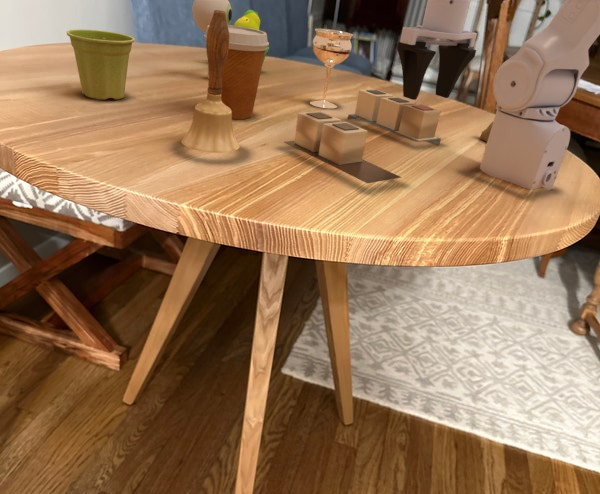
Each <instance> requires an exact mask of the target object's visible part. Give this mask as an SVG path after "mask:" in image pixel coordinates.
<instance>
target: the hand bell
mask: <svg viewBox="0 0 600 494" xmlns="http://www.w3.org/2000/svg"><path fill="white" fill-rule="evenodd" d="M205 44H206V45H205V47H206V57H207V63H208V62H209V79H208V81H207V82H208V83H207V86H208V87H207V93H206V99H205V100H204V101H201V102H199V103H197V104H195V106H194V112H193V116H192V120H191V124H190V128H189V130H188V131H187V133H186V134H185V136H184V137H183V138H182V139H181V144H182V145H183V146H185V147H187V148H188V149H191V150H194V151H198V152H203V153H212V154H213V153H214V154H225V153H232V152H235V151H238V150H239V149H240V148H241V145H240V143H239V142H238V140H237V138H236V135H235V132H234V126H233V119H232V111H231V109H230V108H229V107H227V106H226V105H225V104H223V103H222V101H221V93H222V89H221V88H222V73H223V68H224V64H225V62H226V59H227V55H228V50H229V29H228V25H227V20H226V13H225V11H220V10H214V13H213V17H212V20H211V23H210V25H209V28H208V32H207V41H206V42H205Z"/></svg>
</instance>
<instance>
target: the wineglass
mask: <svg viewBox="0 0 600 494" xmlns="http://www.w3.org/2000/svg"><path fill="white" fill-rule="evenodd" d="M314 32H315V36H314V38H313V40H312V50H313V53H314V55H315V57H316V58H317V59H318V60H319V61H320V62H321V63H323V64H324V67H325V68H326V69H325V78H324V88H323V96H322V97H323V98H322V99H319V100H312V101H310V102H309V105H311V106H314V107H317V108H321V109H337V108H338V106H337V104H334V103H332V102H331V101H328V100H327V99H326V98H327V92H328V88H329V82H330V76H331V71H332V69H333V68H334V67H335V66H336V65H338V64H339V65H340V64H341V63H343V62H344V61H345V60H346V59H348V58H349V56H350V54H351V52H352V48H353V45H352V40H351V39H352V38H353V36H354V34H352V33H350V32H346V31H342V30H336V29H329V28H314Z"/></svg>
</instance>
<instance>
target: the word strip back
mask: <svg viewBox="0 0 600 494" xmlns="http://www.w3.org/2000/svg"><path fill="white" fill-rule="evenodd" d="M404 105H417V102H414V101H411V100H409V99H405V98H402V97H399V96H394V95H393V94H391V93H387V92H385V91H381V90H379V89H375V88H374V89H359V90H358V94H357V100H356V106H355V111H354V113H350V114H348V115H347V120H348V121H349V120H350V121H351V120H359V121H363V122H366V123H368V124H371V125H373V126H376V127H378V128H381V129H383V130H386V131H388V132H390V133H393V134H395V135H398V136H400V137H403V138H406V139H408V140H411V141H413V142H415V143H419V142H427V143H429V144H432V145H434V146H439V145H440V144H441V141H442V138H441V137H438V136H436V135H435V136H434V137H431V138H422V139H416V138H414V137H411V136H409V135H406V134H404V133H401V132H399V127H400V123H401V118H402V113H403V109H404Z"/></svg>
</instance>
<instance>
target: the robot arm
mask: <svg viewBox="0 0 600 494" xmlns="http://www.w3.org/2000/svg"><path fill="white" fill-rule="evenodd" d="M470 4H471V0H427V1H426V7H425V11H424V15H423V20H422V25H421V24H420V25H419V24H418V25H416V26H403V27H402V30H401V35H400V41H397V46H396V50H397V54H398V56H399V60H400V64H401V66H400V67H401V73H402V97H403V98H407V99H408V100H413V101H416V100H417V99H418V97H419V95H420V92H421V89H422V85H423V83H424V82H423V81H424V78H425V76H426V73H427V71H428V68H429V66H430V64H431V62H432V60H433V59H434V57H435V56H436V54H437V51H436V50H431V49H429V48H428V46H429V45H430V46H431V45H432V46H438V59H439V60H438V61H439V62H438V73H437V80H436V84H435V96H439V97H441V98H444V99H449V97H450V96H451V94H452V92H453V90H454V88H455V86H456V84H457V82H458V80H459V78H460V77H461V75H462V73H463V72H464V71H465V69H466V68H467V66H468V65H469V64H470V62H471V61H472V60H473V59H474V58H475V57H476V53H477V50H476V49H474V46H475V44H476V40H477V35H478V33H477V32H473V31H468V30H464V27H465V23H466V19H467V15H468V11H469V8H470ZM599 36H600V0H565V1H564V2H563V3H562V5H561V6H560V8H559V9H558V11H557V12H556V13H555V15H554V16H553V18H552V20H551V21H550V22H549V24H548V25H547V26H546V27H545V28H543V29H542V30H541V31H539V32H537V33H536V34H534V35H533V36H532V37H530V38H528V39H527V40H525V41H524V42H523V44H522V45H521V47H520V48H519V50H518V51H517V52H516V53H515V54H514V55H512V56H511V57H509V58H508V59H506V60H505V61H504V62H502V64H500V66H499V68H498V69H497V71H496V73H495V74H494V78H493V82H492V94H493V98H494V100H495V102H496V104H495V110H496V112H495V115H494V117H493V118H494V119H493V121H492V122H493V125H492V128H491V131H490V135H489V138H488V141H487V142H486V145H485V148H484V151H483V155H482V158H481V162H480V165H479V169H480V171H482V172H483V173H484V174H486V175H488V176H490V177H493V178H496V179H499V180H502V181H505V182H509V183H511V184H514V185H517V186H519V187H522V188H524V189H527V190H529V191H530V190H531V191H532V190H536V189H537V190H538V189H540V188H543V189H546V190H549V191H551V190H555V188H556V184H555V182H556V179H557V176H558V174H559V172H560V168H561V166H562V164H563V160H564V159H565V157H566V156H565V155H566V154H567V153H566V152H567V149H568V147H569V144H570V141H571V129H570V128H569V127H568V126H566V125H564V124H560V123H559V122H557V120H556V118H557V117H558V114H559V111H560V109H561V108H562V107H564V106H566V105H567V104H568V103H569V102H571V100H572V99H573V98H574V96H575V95H576V92H577V90H578V86H579V83H580V80H581V78H582V75H583V74H584V72H585V71H586V70H587V69H588V67H589V66H590V56H589V49H590V48H591V46H592V45H593V44H594V42H595V41H596V40H597V38H599ZM437 39H440V40H437ZM441 39H442V40H441Z"/></svg>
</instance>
